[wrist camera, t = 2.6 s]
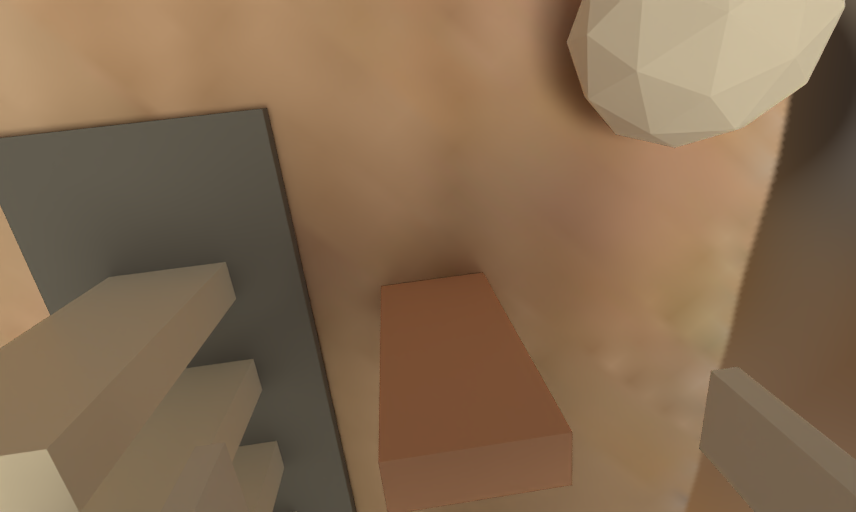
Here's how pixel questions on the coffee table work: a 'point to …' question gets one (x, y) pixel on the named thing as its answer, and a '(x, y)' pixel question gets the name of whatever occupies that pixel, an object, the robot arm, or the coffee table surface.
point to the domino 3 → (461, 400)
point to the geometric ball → (695, 61)
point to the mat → (190, 259)
